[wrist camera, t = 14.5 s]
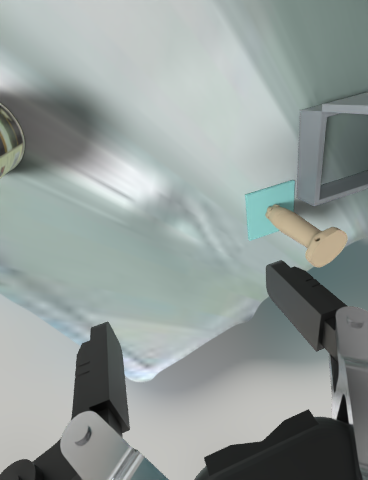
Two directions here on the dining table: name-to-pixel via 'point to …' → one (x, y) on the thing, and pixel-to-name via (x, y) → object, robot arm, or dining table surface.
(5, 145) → the coffee can
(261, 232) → the pad
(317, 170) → the case
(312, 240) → the handle
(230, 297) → the dining table surface
